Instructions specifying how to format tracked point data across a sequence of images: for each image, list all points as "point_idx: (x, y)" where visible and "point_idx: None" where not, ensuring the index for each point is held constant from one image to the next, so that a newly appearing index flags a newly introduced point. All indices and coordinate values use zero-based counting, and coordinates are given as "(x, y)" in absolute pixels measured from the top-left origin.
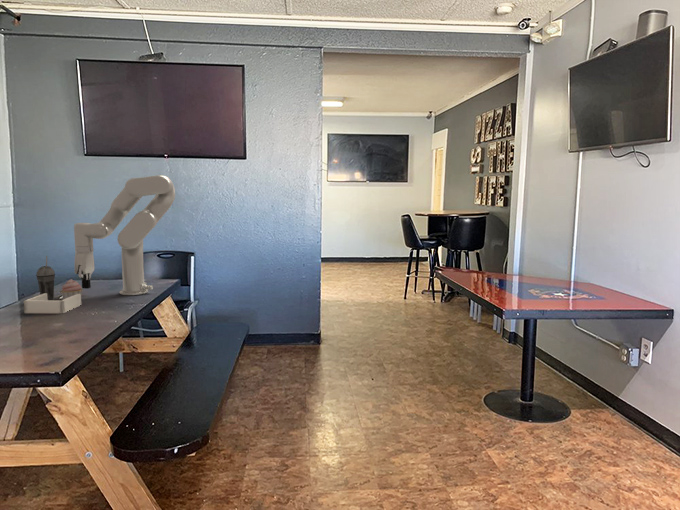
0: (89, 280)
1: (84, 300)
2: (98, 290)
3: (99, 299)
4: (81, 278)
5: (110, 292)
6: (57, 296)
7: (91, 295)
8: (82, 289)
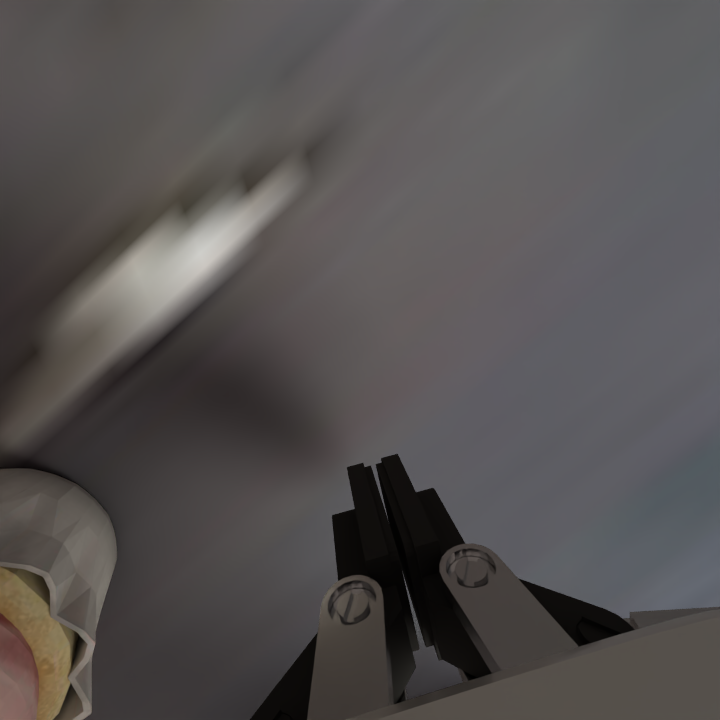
0: (433, 639)
1: (113, 625)
2: (595, 410)
3: (210, 706)
4: (291, 668)
5: None
6: (162, 164)
7: None
8: (78, 714)
